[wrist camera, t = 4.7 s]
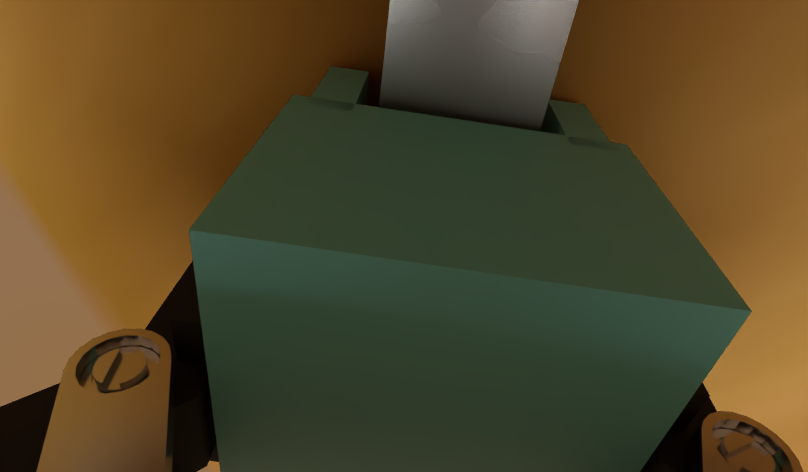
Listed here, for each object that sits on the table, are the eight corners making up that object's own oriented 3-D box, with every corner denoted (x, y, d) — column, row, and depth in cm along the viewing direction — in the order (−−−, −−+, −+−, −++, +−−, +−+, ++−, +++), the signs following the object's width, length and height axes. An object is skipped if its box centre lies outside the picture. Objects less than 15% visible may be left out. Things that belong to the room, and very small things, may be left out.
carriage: (317, 63, 11) (188, 230, 5) (598, 106, 11) (751, 311, 5) (308, 310, 14) (230, 548, 9) (514, 339, 15) (555, 592, 9)
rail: (441, -392, 7) (439, -645, 4) (647, -356, 7) (820, -573, 4) (348, 431, 18) (326, 551, 15) (431, 442, 18) (428, 565, 15)
